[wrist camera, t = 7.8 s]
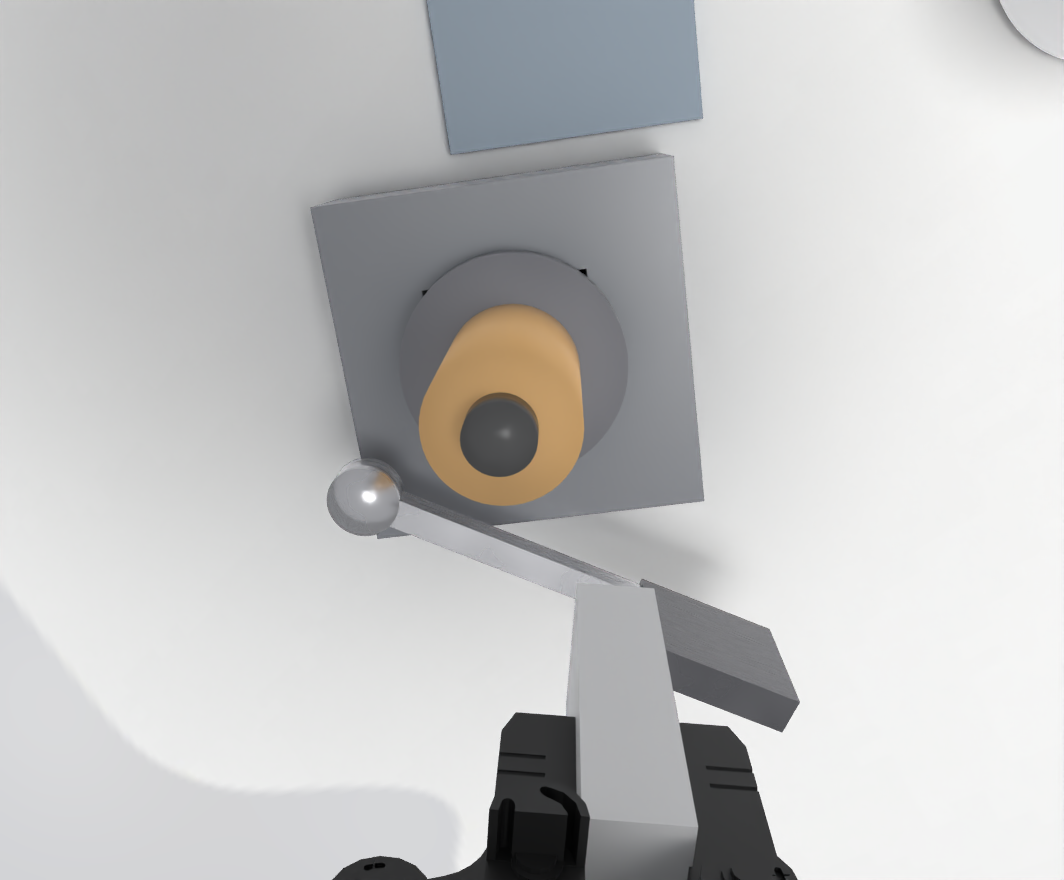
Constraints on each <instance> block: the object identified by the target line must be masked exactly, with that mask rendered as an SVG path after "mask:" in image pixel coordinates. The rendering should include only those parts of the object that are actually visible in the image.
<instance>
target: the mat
mask: <svg viewBox="0 0 1064 880" xmlns="http://www.w3.org/2000/svg"><path fill="white" fill-rule="evenodd" d="M427 5H428V12H429V18H430V24H431V31H432V37H433V44H434V50H435V56H436V63H437V69H438V76H439V82H440V88H441V95H442V101H443V107H444V114H445V120H446V127H447V133H448V139H449V146H450V152H451V155H452V154H459V153H466V152H473V151H480V150H487V149H494V148H501V147H508V146H515V145H521V144H528V143H535V142H542V141H549V140H556V139H563V138H570V137H577V136H584V135H591V134H598V133H605V132H612V131H619V130H626V129H633V128H640V127H647V126H654V125H660V124H667V123H674V122H681V121H688V120H695V119H702V118H703V113H702V100H701V87H700V75H699V62H698V49H697V37H696V24H695V11H694V0H427Z"/></svg>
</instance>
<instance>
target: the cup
mask: <svg viewBox="0 0 1064 880" xmlns="http://www.w3.org/2000/svg"><path fill="white" fill-rule="evenodd" d="M999 1H1000V3H1001V5H1002V7H1003V9H1004V11H1005V13H1006V14H1007V16H1008V18H1009V19H1010V21H1011V22H1012V23H1013V25H1014V26H1015V27H1016V29H1017V30H1018V31H1019V32H1020V33H1021V34H1022V35H1023V36H1024V37H1025V38H1026V39H1027V40H1028V41H1030V42H1031V43H1032V44H1033V45H1035V46H1036V47H1038V48H1039V49H1041V50H1042V51H1044V52H1046V53H1048V54H1050V55H1052V56H1055V57H1058V58H1060V59H1063V60H1064V0H999Z"/></svg>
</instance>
